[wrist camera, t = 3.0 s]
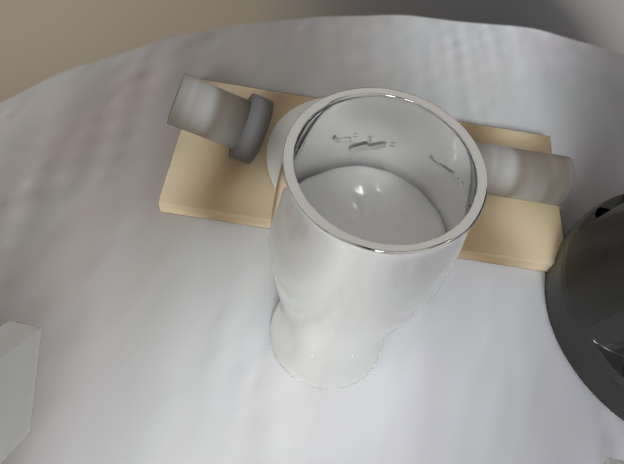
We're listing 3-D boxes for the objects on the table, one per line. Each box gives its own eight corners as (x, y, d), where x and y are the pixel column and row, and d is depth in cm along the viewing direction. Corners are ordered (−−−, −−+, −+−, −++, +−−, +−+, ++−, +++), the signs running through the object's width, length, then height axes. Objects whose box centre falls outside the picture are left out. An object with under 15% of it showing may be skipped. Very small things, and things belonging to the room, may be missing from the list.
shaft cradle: (543, 145, 39) (585, 85, 35) (558, 273, 34) (611, 223, 29) (192, 88, 39) (185, 19, 34) (153, 210, 34) (138, 148, 29)
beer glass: (244, 295, 31) (247, 103, 19) (360, 262, 33) (434, 66, 20) (286, 418, 28) (323, 289, 15) (411, 374, 30) (536, 225, 17)
